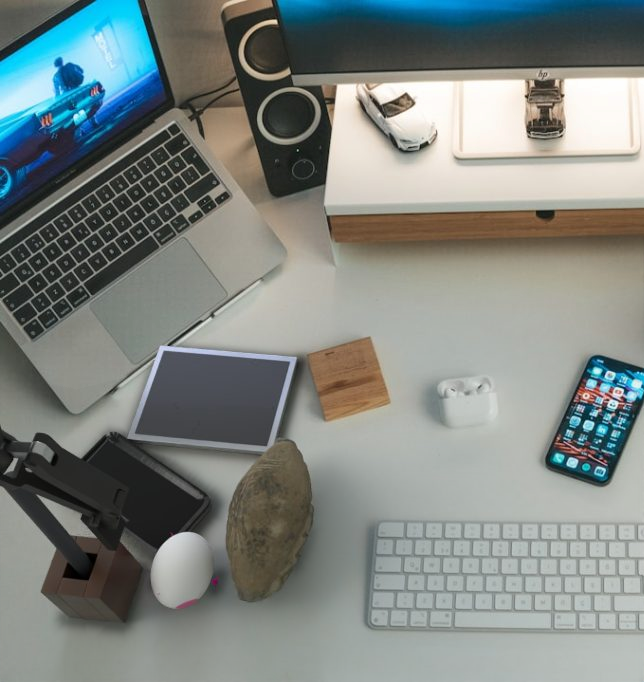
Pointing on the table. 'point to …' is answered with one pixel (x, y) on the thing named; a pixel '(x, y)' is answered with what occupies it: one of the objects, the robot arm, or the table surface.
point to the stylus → (52, 530)
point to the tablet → (214, 400)
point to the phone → (149, 492)
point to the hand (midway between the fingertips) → (42, 528)
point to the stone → (269, 521)
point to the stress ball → (182, 570)
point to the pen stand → (94, 583)
